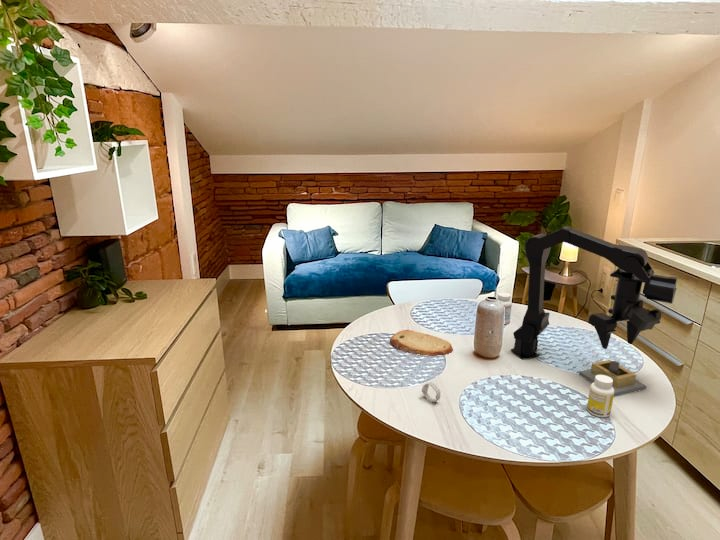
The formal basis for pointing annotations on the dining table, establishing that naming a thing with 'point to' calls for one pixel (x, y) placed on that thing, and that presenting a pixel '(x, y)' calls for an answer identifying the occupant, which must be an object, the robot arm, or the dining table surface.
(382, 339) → the dining table surface
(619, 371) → the wooden tray box
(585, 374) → the keeper plate
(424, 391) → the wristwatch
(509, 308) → the pill bottle
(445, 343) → the bread slice
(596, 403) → the supplement bottle
